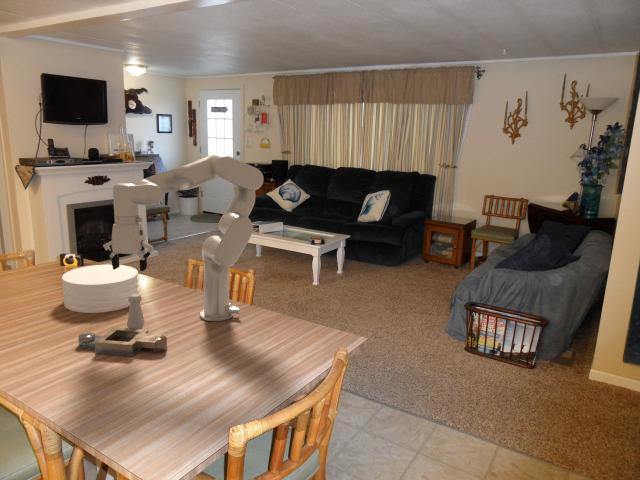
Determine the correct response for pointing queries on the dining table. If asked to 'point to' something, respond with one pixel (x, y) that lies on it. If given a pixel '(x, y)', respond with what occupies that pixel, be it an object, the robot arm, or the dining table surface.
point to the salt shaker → (135, 312)
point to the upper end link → (140, 340)
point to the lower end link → (89, 343)
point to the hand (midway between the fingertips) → (129, 269)
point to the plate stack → (99, 288)
